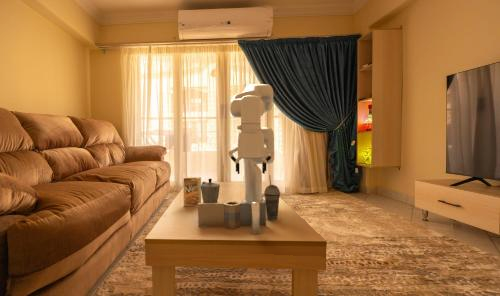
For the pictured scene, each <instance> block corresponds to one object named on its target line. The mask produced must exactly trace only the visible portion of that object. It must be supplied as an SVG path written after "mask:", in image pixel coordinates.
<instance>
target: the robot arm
mask: <svg viewBox="0 0 500 296" xmlns="http://www.w3.org/2000/svg"><path fill="white" fill-rule="evenodd" d="M273 104H274V90H273V87H272V86H271V85H270V84H268V83H267V84H265V83H263V84H262V83H260V84H258V83H256V84H255V83H254V84H248V85H247V86H246V87H245V88H244V90H243V92H241V93H237V94H235V95H233V97H232V98H231V101H230V105H229V107H230V108H229V109H230V114H231V115H232V117H233V118H240V125H237V127H236V128H237V130H239V131H240V132H238V136H237V137H238V138H237V147H235V148H233V149H231V150H230V151H228V156H229V157H230V159H231V160H232V161H233V162H234V163H235V172H237V175H239V174H240V161H241V160H242V159H243V163H244V199H242V202H241V203H252V202H259V203H266V200H265V199H263V198H265V195H264V193H262V192H263V187H262V186H263V180H262V176H263V175H264V174H265V173H266V172H267V164H272V163H273V162H274V160H275V133H274V129H273V128H270V127H262V125H261V122H262V121H261V118H262V117H263V115H264V114H265V113H267V112H270V111H272V109H273V106H274V105H273ZM236 152H237V158H236V157H235V156H234V153H236ZM258 165H261V166H262V167H261V168H260V167H259V166H258ZM262 174H263V175H262Z"/></svg>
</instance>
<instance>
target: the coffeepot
mask: <svg viewBox="0 0 500 296" xmlns="http://www.w3.org/2000/svg"><path fill="white" fill-rule="evenodd" d="M212 180H213V179H212V178H208V182H206V181H203V182H201V199H202V203H219V202H218V199H219V195H220V187H221V186H220V183H217V182H212Z"/></svg>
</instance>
